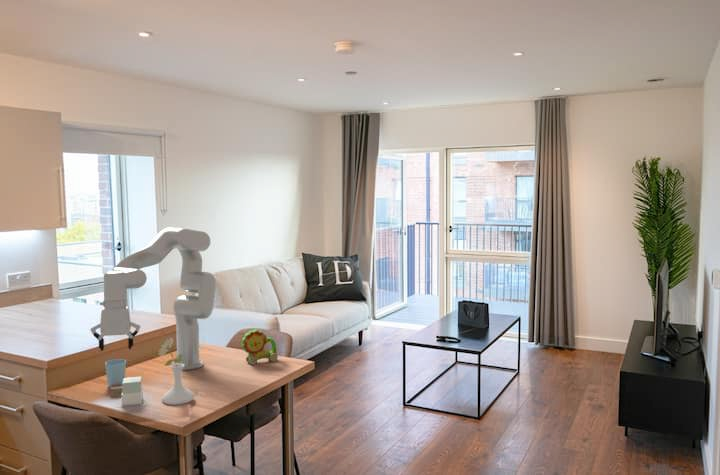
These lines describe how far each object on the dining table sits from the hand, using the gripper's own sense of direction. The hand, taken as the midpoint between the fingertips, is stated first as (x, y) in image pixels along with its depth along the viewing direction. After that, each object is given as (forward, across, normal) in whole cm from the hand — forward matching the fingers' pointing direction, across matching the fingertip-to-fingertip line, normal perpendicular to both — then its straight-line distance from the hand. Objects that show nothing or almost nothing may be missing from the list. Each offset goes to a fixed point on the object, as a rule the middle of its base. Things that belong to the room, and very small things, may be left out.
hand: (116, 349), depth 212 cm
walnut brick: (+18, 0, 0) cm, 18 cm away
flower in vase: (+18, +22, -13) cm, 31 cm away
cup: (+18, -2, +10) cm, 21 cm away
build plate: (+18, +6, -10) cm, 22 cm away
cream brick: (+17, +6, -10) cm, 21 cm away
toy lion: (+18, +56, +29) cm, 66 cm away
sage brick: (+13, +6, -9) cm, 17 cm away
